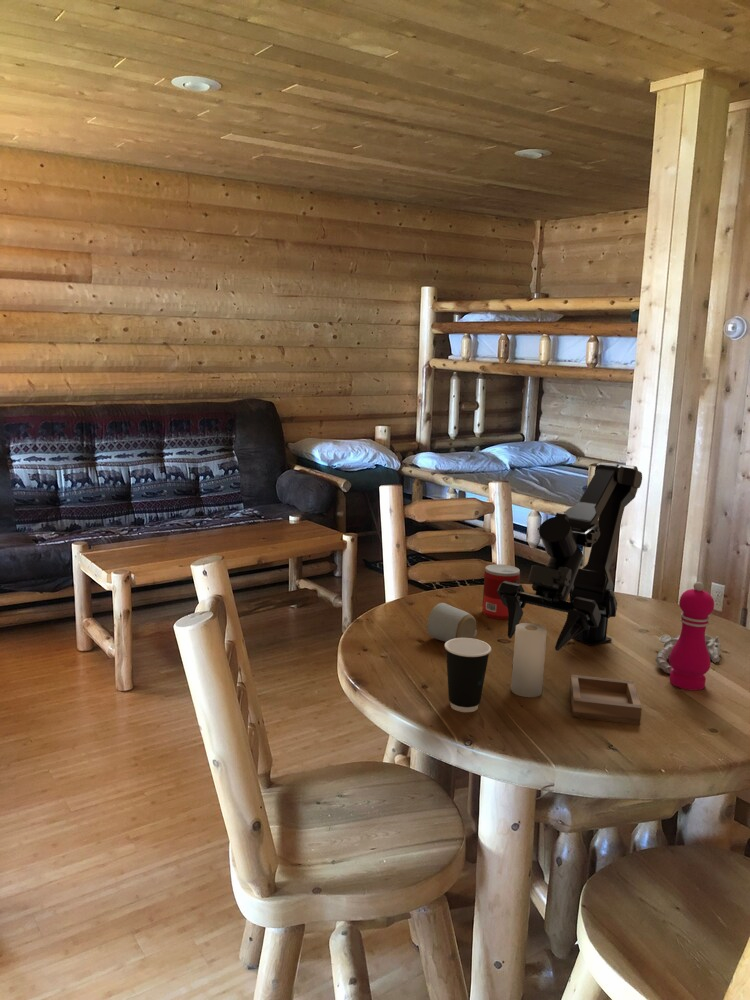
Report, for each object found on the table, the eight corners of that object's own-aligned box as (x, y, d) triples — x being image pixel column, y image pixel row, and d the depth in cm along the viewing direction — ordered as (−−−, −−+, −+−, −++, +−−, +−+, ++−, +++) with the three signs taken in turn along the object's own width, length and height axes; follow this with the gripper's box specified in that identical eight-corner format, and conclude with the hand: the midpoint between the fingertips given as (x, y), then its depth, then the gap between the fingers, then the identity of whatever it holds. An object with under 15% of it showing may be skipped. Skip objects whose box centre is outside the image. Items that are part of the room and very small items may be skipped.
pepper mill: (660, 675, 154) (671, 576, 150) (696, 675, 154) (708, 576, 151) (677, 691, 147) (689, 587, 143) (714, 691, 147) (728, 588, 143)
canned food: (519, 620, 182) (522, 574, 179) (484, 619, 182) (487, 572, 180) (513, 609, 189) (517, 564, 187) (480, 608, 189) (483, 563, 187)
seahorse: (706, 681, 150) (732, 637, 165) (649, 647, 155) (680, 608, 170) (694, 700, 152) (721, 656, 168) (639, 667, 157) (670, 626, 173)
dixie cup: (435, 697, 141) (438, 638, 139) (477, 694, 143) (480, 636, 141) (450, 718, 133) (454, 656, 131) (494, 714, 135) (498, 653, 133)
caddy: (569, 689, 146) (570, 674, 145) (631, 696, 144) (633, 681, 143) (572, 716, 135) (573, 700, 135) (639, 724, 133) (641, 708, 133)
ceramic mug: (457, 652, 162) (459, 616, 160) (425, 641, 167) (427, 606, 166) (485, 639, 170) (488, 605, 168) (454, 629, 175) (456, 596, 174)
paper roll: (527, 682, 149) (532, 620, 146) (548, 693, 144) (553, 630, 142) (504, 687, 146) (509, 625, 143) (524, 699, 141) (529, 635, 139)
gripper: (504, 539, 150) (473, 609, 143) (601, 557, 140) (573, 634, 133) (519, 571, 158) (490, 639, 151) (612, 590, 148) (585, 664, 141)
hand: (532, 643), depth 144 cm, fingers open, 9 cm apart
